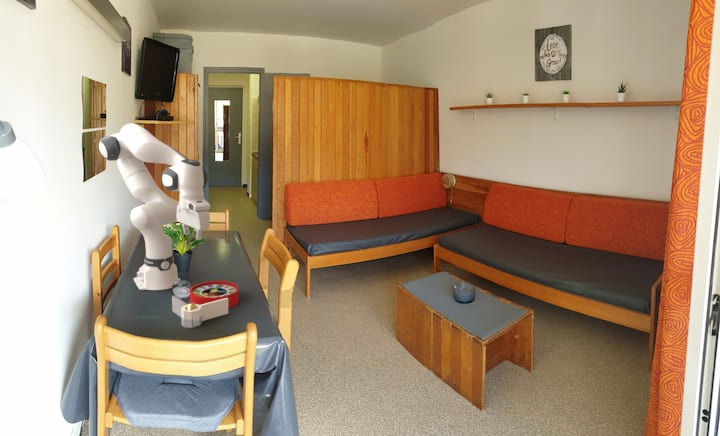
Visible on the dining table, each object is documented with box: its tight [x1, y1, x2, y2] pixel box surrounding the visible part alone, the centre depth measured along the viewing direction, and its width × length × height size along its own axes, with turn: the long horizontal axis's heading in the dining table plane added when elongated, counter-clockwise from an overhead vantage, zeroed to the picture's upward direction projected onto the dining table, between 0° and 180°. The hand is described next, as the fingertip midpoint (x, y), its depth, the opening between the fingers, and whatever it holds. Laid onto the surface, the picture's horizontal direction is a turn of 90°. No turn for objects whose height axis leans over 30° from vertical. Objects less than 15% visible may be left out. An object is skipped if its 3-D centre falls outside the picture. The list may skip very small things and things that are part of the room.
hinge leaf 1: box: [171, 295, 203, 329], centre depth 176 cm, size 19×7×6 cm, turn 47°
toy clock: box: [189, 280, 240, 309], centre depth 194 cm, size 20×6×20 cm
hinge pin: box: [187, 302, 196, 310], centre depth 172 cm, size 3×3×8 cm
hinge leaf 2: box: [180, 298, 229, 322], centre depth 176 cm, size 7×19×6 cm, turn 137°
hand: (192, 237), depth 177 cm, fingers open, 8 cm apart
